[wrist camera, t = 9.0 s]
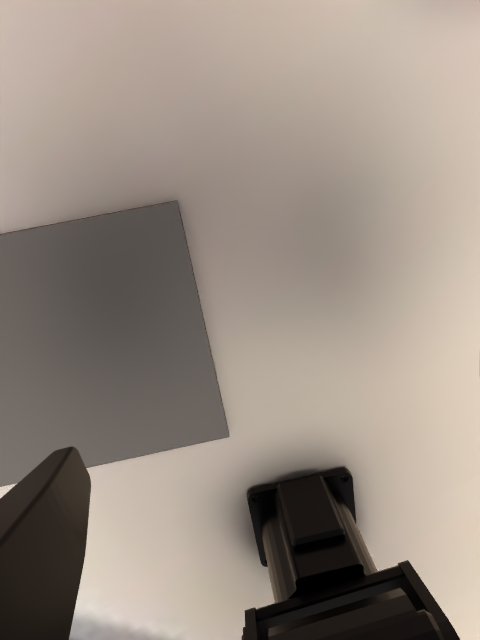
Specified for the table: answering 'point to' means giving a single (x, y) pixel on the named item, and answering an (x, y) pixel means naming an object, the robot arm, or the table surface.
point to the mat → (102, 342)
